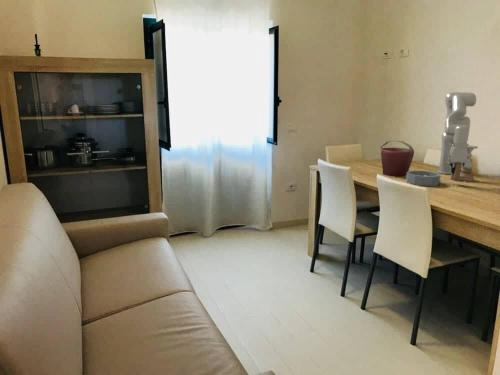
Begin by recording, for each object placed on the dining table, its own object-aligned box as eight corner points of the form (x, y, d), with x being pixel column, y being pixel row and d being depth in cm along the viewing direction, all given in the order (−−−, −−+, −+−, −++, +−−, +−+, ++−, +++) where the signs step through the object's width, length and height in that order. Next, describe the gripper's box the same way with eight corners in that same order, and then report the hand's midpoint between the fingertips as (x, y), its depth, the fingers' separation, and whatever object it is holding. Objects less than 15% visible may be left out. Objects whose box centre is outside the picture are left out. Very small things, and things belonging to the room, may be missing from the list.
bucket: (371, 172, 294) (374, 139, 288) (392, 170, 304) (395, 138, 298) (397, 179, 273) (400, 143, 267) (419, 176, 283) (422, 141, 277)
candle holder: (473, 179, 272) (478, 145, 266) (473, 182, 263) (478, 147, 257) (456, 178, 277) (460, 144, 272) (455, 181, 268) (459, 146, 262)
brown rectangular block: (450, 178, 259) (452, 161, 256) (455, 179, 258) (457, 161, 255) (454, 181, 253) (456, 162, 250) (459, 181, 253) (461, 163, 249)
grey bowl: (402, 179, 272) (403, 170, 271) (432, 180, 270) (433, 170, 269) (411, 185, 253) (412, 176, 251) (443, 186, 251) (444, 177, 249)
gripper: (470, 144, 252) (466, 172, 257) (444, 144, 254) (440, 171, 259) (475, 146, 245) (471, 174, 250) (448, 146, 247) (444, 174, 252)
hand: (455, 172), depth 254 cm, fingers closed on brown rectangular block, 3 cm apart
